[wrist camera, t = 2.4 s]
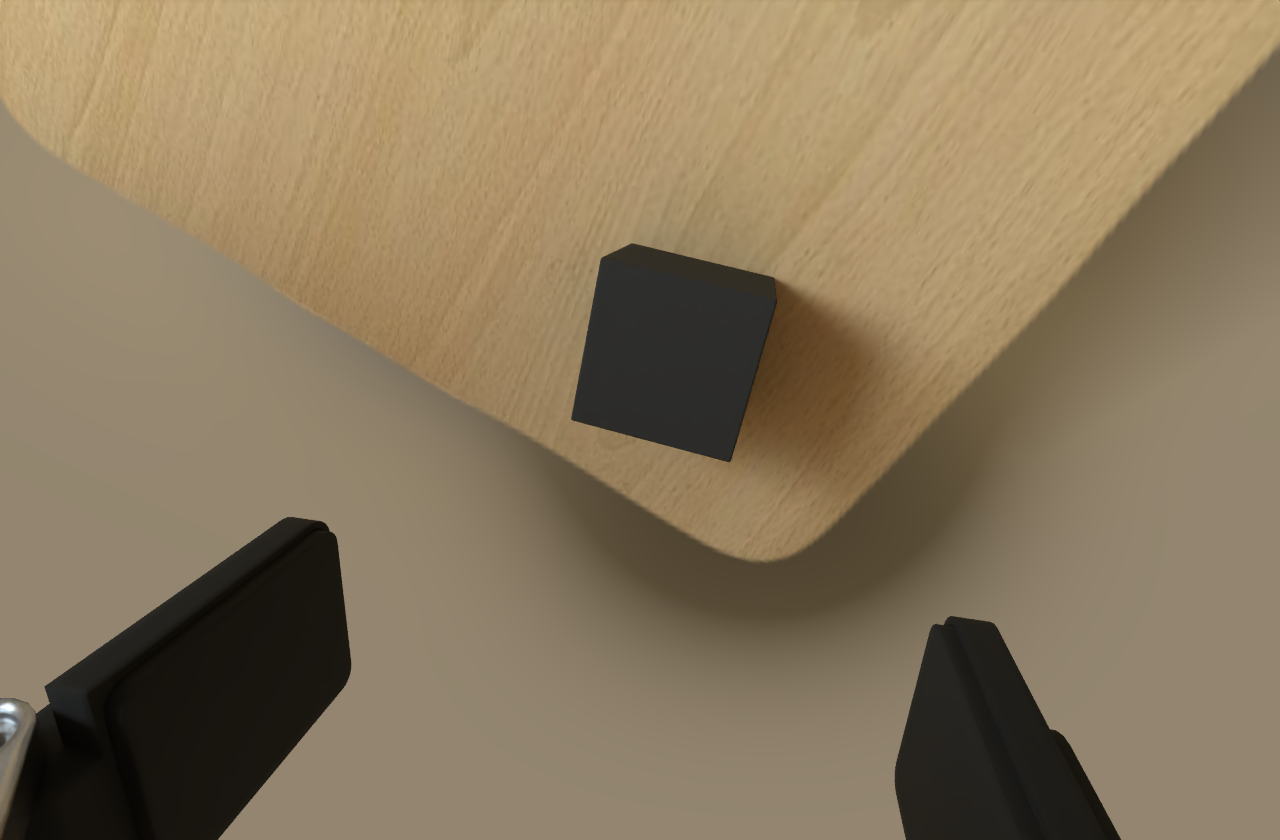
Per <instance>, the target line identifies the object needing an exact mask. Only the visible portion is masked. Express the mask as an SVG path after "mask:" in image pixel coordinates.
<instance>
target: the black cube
mask: <svg viewBox="0 0 1280 840" xmlns="http://www.w3.org/2000/svg"><path fill="white" fill-rule="evenodd" d="M776 304H777V298H776V288H775V278H773V277H769V276H765V275H761V274H757V273H753V272H749V271H744V270H740V269H736V268H732V267H728V266H724V265H720V264H715V263H711V262H707V261H703V260H699V259H695V258H690V257H686V256H682V255H678V254H674V253H670V252H666V251H661V250H657V249H653V248H649V247H645V246H641V245H636V244H630V245H628V246H625V247H623V248H621V249H619V250H617V251H615V252H613V253H611V254H609V255H607V256H604V257H602V258H601V261H600V267H599V272H598V277H597V283H596V288H595V294H594V299H593V304H592V310H591V315H590V320H589V326H588V331H587V337H586V342H585V347H584V353H583V358H582V363H581V369H580V374H579V380H578V385H577V390H576V396H575V401H574V407H573V412H572V417H571V419H572V420H573V421H577V422H581V423H584V424H588V425H592V426H596V427H599V428H603V429H607V430H610V431H614V432H618V433H622V434H625V435H629V436H633V437H637V438H640V439H644V440H648V441H652V442H655V443H659V444H663V445H667V446H670V447H674V448H678V449H681V450H685V451H689V452H693V453H696V454H700V455H704V456H708V457H711V458H715V459H719V460H723V461H726V462H730V461H731V459H732V455H733V452H734V448H735V445H736V442H737V438H738V435H739V431H740V428H741V424H742V421H743V417H744V414H745V411H746V407H747V404H748V400H749V397H750V393H751V390H752V386H753V383H754V380H755V376H756V373H757V369H758V366H759V362H760V359H761V355H762V352H763V349H764V345H765V342H766V338H767V335H768V331H769V328H770V324H771V321H772V318H773V314H774V311H775V307H776Z"/></svg>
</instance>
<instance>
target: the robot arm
mask: <svg viewBox="0 0 1280 840" xmlns="http://www.w3.org/2000/svg"><path fill="white" fill-rule="evenodd" d="M350 671H351V657H350V648H349V640H348V631H347V622H346V613H345V605H344V596H343V588H342V578H341V569H340V561H339V552H338V543H337V538H336V536H335V534H333V533H332V532H330V531H329V528H328V526H327V525H326V524H325V523H323V522H322V521H315V520H308V519H301V518H295V517H287V518H285V519H283V520H281V521H279V522H278V523H277V524H275V525H274V526H272V527H271V528H270V529H268V530H267V531H265V532H264V533H262V534H261V535H260V536H258V537H257V538H255V539H254V540H253V541H251V542H250V543H248V544H247V545H245V546H244V547H243V548H241V549H240V550H239V551H237V552H235V553H234V554H233V555H231V556H230V557H228V558H227V559H225V560H224V561H223V562H221V563H220V564H218V565H217V566H215V567H214V568H213V569H211V570H210V571H208V572H207V573H206V574H204V575H203V576H201V577H200V578H199V579H197V580H196V581H194V582H193V583H191V584H190V585H189V586H187V587H186V588H184V589H183V590H181V591H180V592H178V593H177V594H176V595H174V596H173V597H171V598H170V599H168V600H167V601H166V602H164V603H163V604H161V605H160V606H159V607H157V608H156V609H154V610H153V611H151V612H150V613H149V614H147V615H146V616H144V617H143V618H142V619H140V620H139V621H137V622H136V623H134V624H133V625H132V626H130V627H129V628H127V629H126V630H124V631H123V632H122V633H120V634H119V635H117V636H116V637H114V638H113V639H112V640H110V641H109V642H107V643H106V644H104V645H103V646H102V647H100V648H99V649H97V650H96V651H94V652H93V653H92V654H90V655H89V656H87V657H86V658H85V659H83V660H82V661H80V662H79V663H77V664H76V665H75V666H73V667H72V668H70V669H69V670H68V671H66V672H65V673H63V674H62V675H60V676H59V677H57V678H56V679H55V680H53V681H52V682H51V683H49V684H48V685H46V686H45V689H46V693H47V696H48V699H49V702H50V704H49V705H47V706H46V707H45V708H43V709H42V710H41V711H39V712H38V713H35V710H34V709H33V708H32V707H31V706H30V705H29V703H27V702H24V701H21V700H18V699H14V698H0V840H218V839H219V837H220V836H221V835H222V834H223V833H224V831H225V830H226V829H227V828H228V826H229V825H230V824H231V823H232V822H233V820H234V819H235V818H236V817H237V815H239V813H240V812H241V811H242V810H243V808H244V807H245V806H246V805H247V804H248V802H249V801H250V800H251V799H252V798H253V796H254V795H255V794H256V793H257V792H258V790H259V789H260V788H261V787H262V786H263V784H264V783H265V782H266V781H267V780H268V778H269V777H270V776H271V775H272V774H273V772H274V771H275V770H276V769H277V768H278V766H279V765H280V764H281V763H282V762H283V760H284V759H285V758H286V757H287V755H288V754H289V753H290V752H291V750H292V749H293V748H294V747H295V746H296V745H297V743H298V742H299V741H300V740H301V739H302V737H303V736H304V735H305V734H306V733H307V731H308V730H309V729H310V728H311V727H312V725H313V724H314V723H315V722H316V721H317V719H318V718H319V717H320V716H321V715H322V713H323V712H324V711H325V709H326V708H327V707H328V706H329V705H330V704H331V702H332V701H333V700H334V699H335V698H336V696H337V695H338V694H339V692H341V690H342V689H343V688H344V686H345V685H346V683H347V680H348V678H349V675H350ZM895 788H896V795H897V800H898V804H899V809H900V814H901V819H902V823H903V828H904V833H905V837H906V840H1121V839H1120V837H1119V835H1118V834H1117V831H1116V830H1115V828H1114V826H1113V824H1112V822H1111V820H1110V818H1109V817H1108V815H1107V813H1106V811H1105V809H1104V807H1103V805H1102V803H1101V802H1100V800H1099V798H1098V796H1097V794H1096V792H1095V791H1094V789H1093V787H1092V785H1091V783H1090V781H1089V779H1088V778H1087V776H1086V774H1085V772H1084V770H1083V768H1082V766H1081V765H1080V763H1079V761H1078V760H1077V757H1076V755H1075V754H1074V752H1073V750H1072V748H1071V746H1070V745H1069V743H1068V742H1067V740H1066V739H1065V737H1064V736H1063V735H1062V734H1060V733H1059V732H1057V731H1056V730H1050V729H1049V727H1048V725H1047V723H1046V721H1045V719H1044V717H1043V715H1042V713H1041V712H1040V710H1039V708H1038V706H1037V704H1036V702H1035V700H1034V698H1033V696H1032V694H1031V692H1030V690H1029V689H1028V686H1027V685H1026V683H1025V681H1024V679H1023V677H1022V675H1021V673H1020V671H1019V670H1018V667H1017V665H1016V663H1015V661H1014V659H1013V657H1012V656H1011V654H1010V652H1009V650H1008V648H1007V646H1006V644H1005V642H1004V640H1003V638H1002V636H1001V634H1000V632H999V630H998V629H997V627H996V626H995V624H994V623H991V622H987V621H980V620H974V619H967V618H961V617H954V616H950V617H948V618H947V620H946V621H945V624H944V625H938V624H935V625H933V626H932V628H931V630H930V633H929V637H928V641H927V645H926V649H925V653H924V656H923V660H922V664H921V668H920V672H919V676H918V680H917V684H916V688H915V692H914V695H913V699H912V703H911V707H910V711H909V715H908V719H907V723H906V727H905V731H904V735H903V738H902V743H901V747H900V750H899V754H898V758H897V762H896V767H895Z"/></svg>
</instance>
